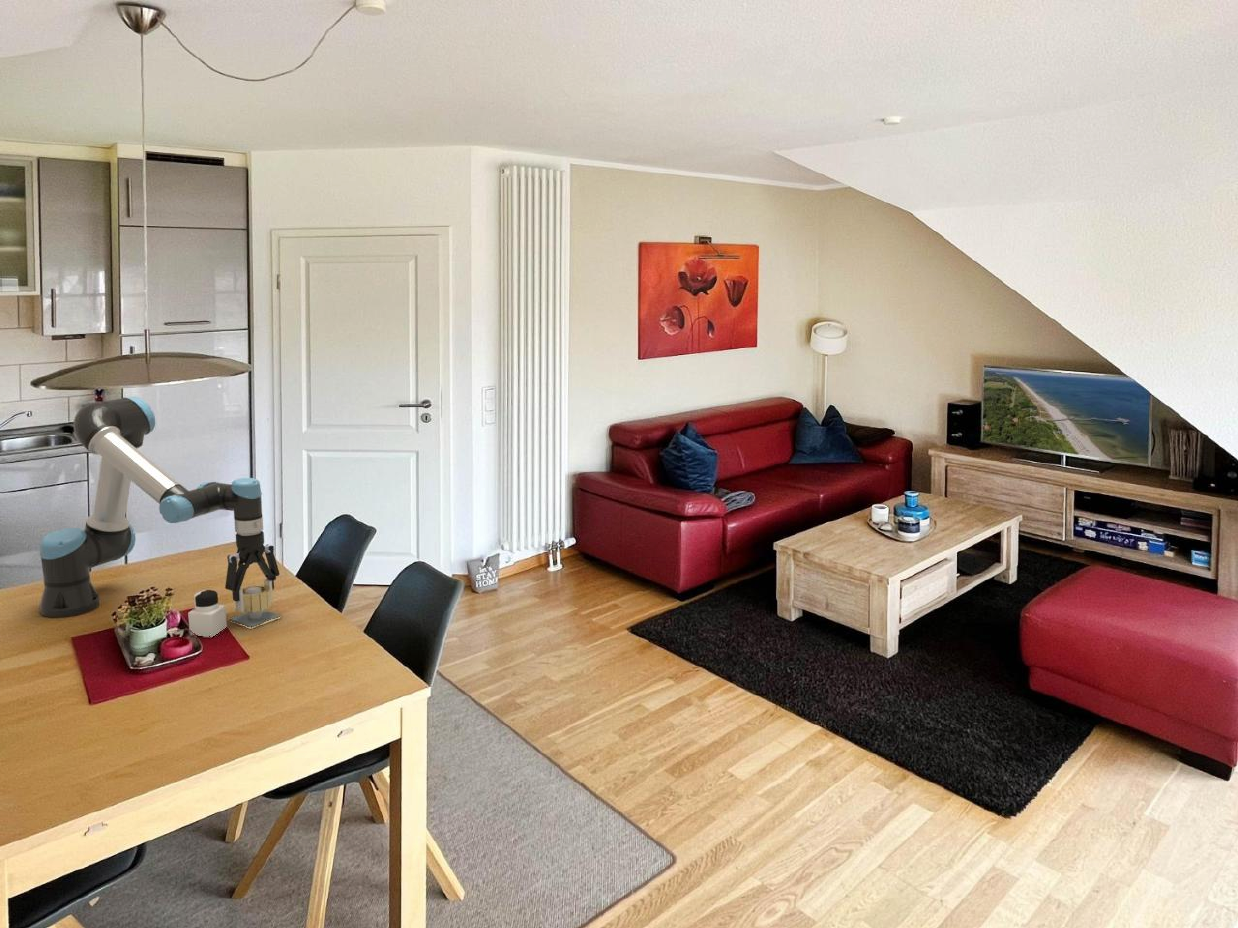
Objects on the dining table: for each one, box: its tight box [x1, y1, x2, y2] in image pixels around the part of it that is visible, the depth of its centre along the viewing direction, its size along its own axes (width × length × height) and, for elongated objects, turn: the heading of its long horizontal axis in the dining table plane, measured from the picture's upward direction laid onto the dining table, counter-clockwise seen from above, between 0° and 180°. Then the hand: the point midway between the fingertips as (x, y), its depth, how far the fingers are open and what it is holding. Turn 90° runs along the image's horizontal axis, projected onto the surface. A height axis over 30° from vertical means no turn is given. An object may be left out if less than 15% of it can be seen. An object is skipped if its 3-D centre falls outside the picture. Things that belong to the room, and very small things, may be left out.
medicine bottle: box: [187, 589, 228, 638], centre depth 248 cm, size 7×7×12 cm
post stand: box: [229, 587, 282, 628], centre depth 257 cm, size 10×10×10 cm
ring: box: [240, 584, 272, 613], centre depth 257 cm, size 9×9×5 cm
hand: (254, 605), depth 257 cm, fingers closed on ring, 9 cm apart
